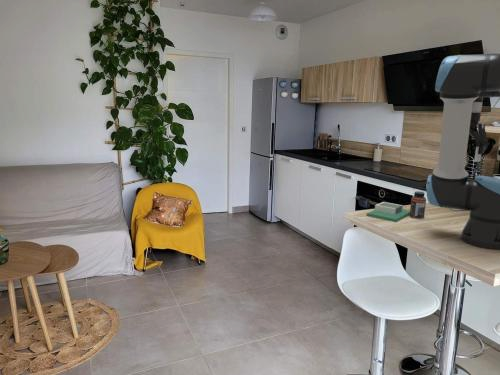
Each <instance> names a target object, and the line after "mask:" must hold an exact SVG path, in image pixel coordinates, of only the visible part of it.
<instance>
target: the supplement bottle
mask: <svg viewBox="0 0 500 375" xmlns="http://www.w3.org/2000/svg"><path fill="white" fill-rule="evenodd" d="M413 194H414V195H413V196H412V197H411V200H410V206H409V210H410V215H409V217H410V218H413V219H418V220H419V219H424V217H425V213H426V212H425V211H426V207H427V206H426V205H427V204H426V203H427V198H426V197H425V192H424V191H419V190H418V191H414V193H413Z"/></svg>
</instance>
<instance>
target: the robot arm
mask: <svg viewBox="0 0 500 375" xmlns="http://www.w3.org/2000/svg"><path fill="white" fill-rule="evenodd" d="M434 87H435V88H434V90H435V92H437V93H439V98H440V100H442V101H443V111H442V122H441V131H440V132H441V133H440V140H439V151H438V162H437V167H436V168H435V169H433V170H432V174H428V176H427V180H426V197H427V198H426V200H427V201H428V203H429V204H430V205H431V206H434V207H439V208H446V209H451V208H452V209H459V210H461V211H468V212H469V213H470V214H469V218H468V220H467V222H466V223H465V226H464V227H463V229H462V231H461V234H460V239H461V240H462V242H465V243H467V244H470V245H473V246H476V247H481V248H485V249H492V250H500V178H498V177H492V176H486V175H476V176H475V177H474V178H469V172H468V170H466V169H465V165H466V159H467V150H468V143H469V135H471V136H472V137H473V139H474V141H475V143H476V145H477V146H476V147H475V154H474V160H473V162H475V163H476V162H477V163H479V162H482V161H481V160H482V155H483V154H484V149H485V147H486V146H488V147H489V145H490V142H489V140H488V136H487V133H486V124H485V123H479V122H480V120H481V117H482V114H481V112H482V108H483V100H484V98H500V53H498V52H497V53H481V54H479V53H476V54H458V55H456V54H455V55H449V56H446V57H445V58H443V60H442V61H441V64H440V66H439V69H438V72H437V76H436V80H435V86H434ZM452 209H451V210H452Z"/></svg>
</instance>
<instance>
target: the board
mask: <svg viewBox="0 0 500 375" xmlns="http://www.w3.org/2000/svg"><path fill="white" fill-rule="evenodd" d="M403 207H404V205H403V204H397V203H391V202H386V201H382V202H380V203H377V204H375V205H374V209H373V210H371V211H369V212H366V217H369V218H370V217H371V218H375V219H380V220H386V221H390V222H393V223H398V221H400V220H403V219H404V218H406V217H409V216H410V209H404V208H403Z"/></svg>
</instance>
